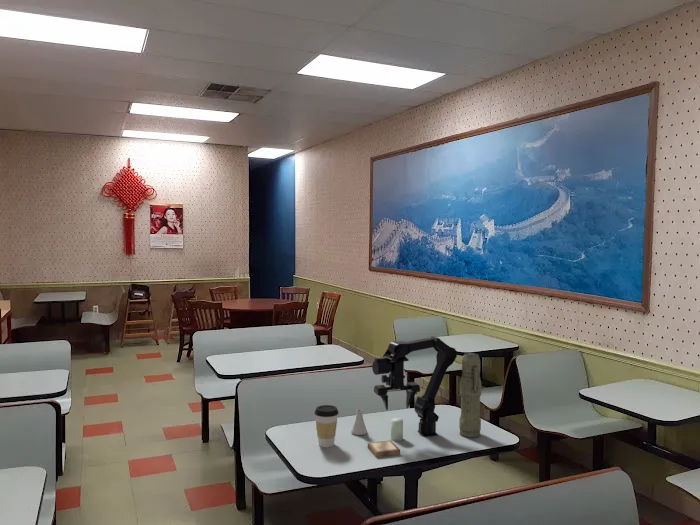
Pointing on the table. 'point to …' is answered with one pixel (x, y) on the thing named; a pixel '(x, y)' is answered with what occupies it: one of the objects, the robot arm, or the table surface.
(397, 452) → the plinth
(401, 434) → the sage capsule
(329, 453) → the table surface
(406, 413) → the table surface
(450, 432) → the table surface
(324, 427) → the coffee cup
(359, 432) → the flask
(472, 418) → the stone statue
